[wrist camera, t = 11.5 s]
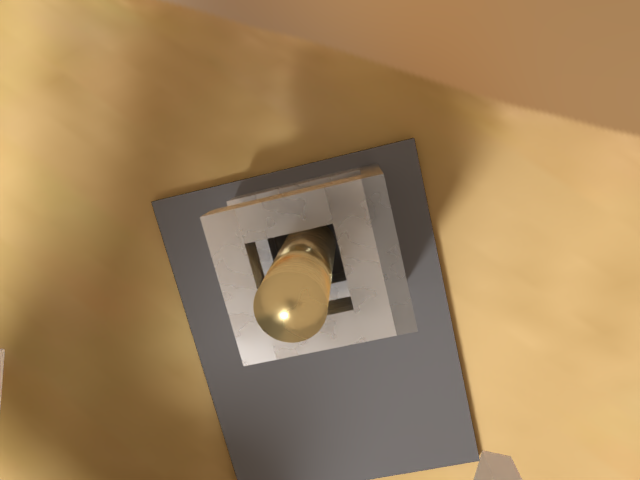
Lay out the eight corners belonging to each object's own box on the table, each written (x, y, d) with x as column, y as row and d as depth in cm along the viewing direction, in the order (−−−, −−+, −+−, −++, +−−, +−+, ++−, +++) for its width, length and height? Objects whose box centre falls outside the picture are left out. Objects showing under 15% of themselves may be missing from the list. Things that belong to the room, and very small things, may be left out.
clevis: (267, 314, 38) (243, 366, 30) (234, 196, 36) (199, 217, 28) (403, 285, 37) (417, 331, 29) (376, 162, 35) (383, 173, 27)
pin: (293, 271, 37) (264, 349, 25) (281, 225, 37) (244, 280, 24) (340, 261, 37) (335, 334, 24) (329, 214, 36) (317, 264, 24)
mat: (245, 496, 42) (243, 500, 42) (153, 201, 37) (151, 202, 37) (478, 456, 40) (479, 460, 40) (413, 138, 35) (414, 138, 35)
